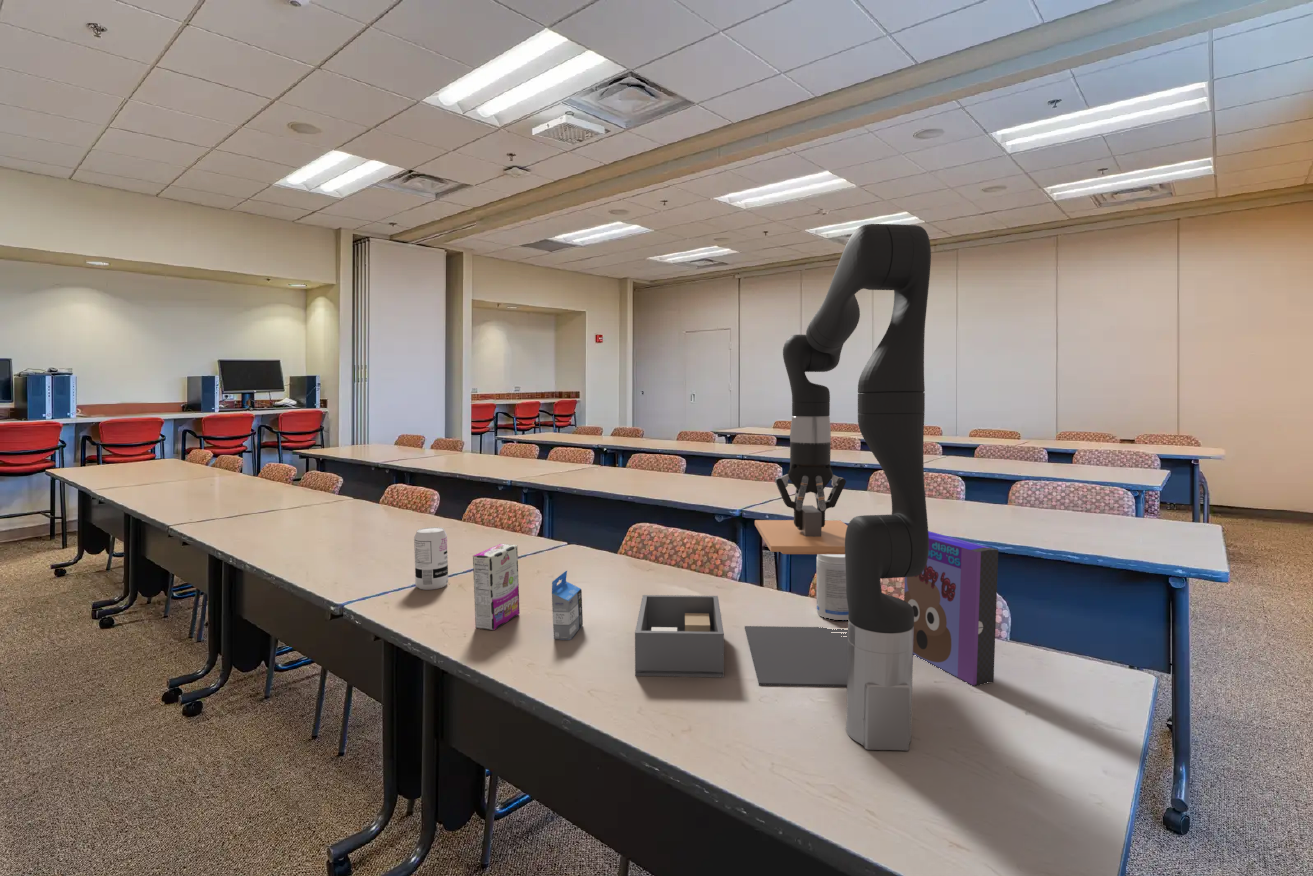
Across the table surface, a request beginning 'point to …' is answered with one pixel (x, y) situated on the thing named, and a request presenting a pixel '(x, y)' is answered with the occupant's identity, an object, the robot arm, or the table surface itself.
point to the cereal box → (956, 608)
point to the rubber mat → (799, 655)
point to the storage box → (679, 636)
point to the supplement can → (431, 558)
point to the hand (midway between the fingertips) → (809, 528)
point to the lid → (804, 534)
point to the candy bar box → (496, 586)
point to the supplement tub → (831, 586)
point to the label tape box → (566, 608)
